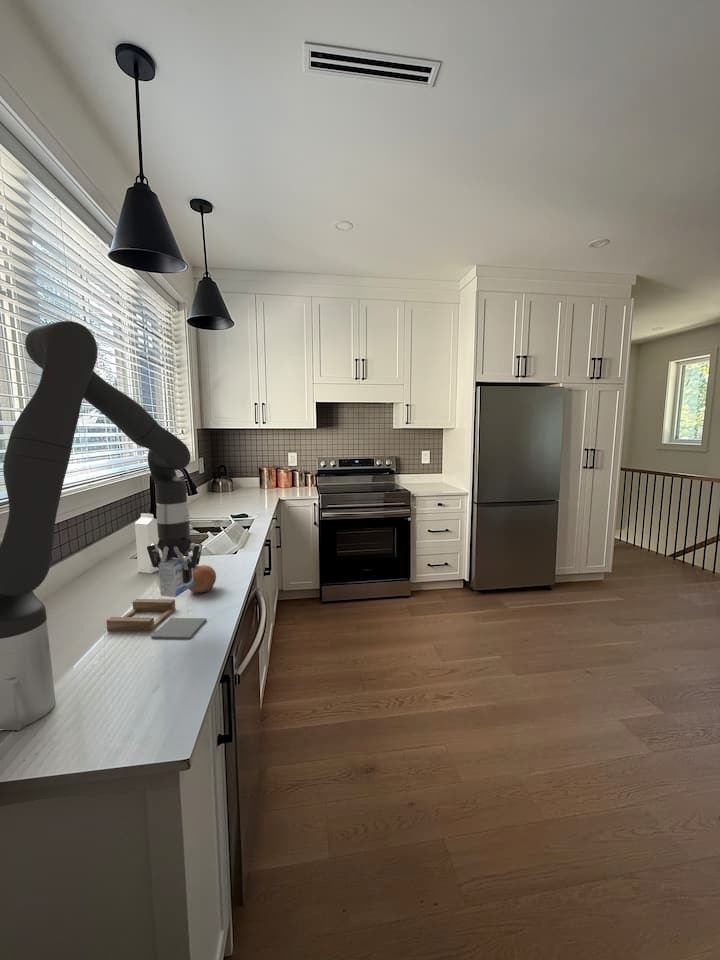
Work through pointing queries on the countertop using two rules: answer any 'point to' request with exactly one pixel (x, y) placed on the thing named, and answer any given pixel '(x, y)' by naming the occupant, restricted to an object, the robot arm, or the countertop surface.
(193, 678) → the countertop surface
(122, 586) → the countertop surface
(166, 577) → the medicine box
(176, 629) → the mat
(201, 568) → the onion
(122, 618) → the frame
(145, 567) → the milk
